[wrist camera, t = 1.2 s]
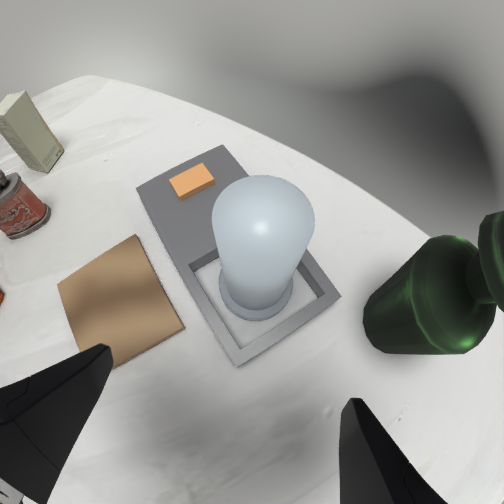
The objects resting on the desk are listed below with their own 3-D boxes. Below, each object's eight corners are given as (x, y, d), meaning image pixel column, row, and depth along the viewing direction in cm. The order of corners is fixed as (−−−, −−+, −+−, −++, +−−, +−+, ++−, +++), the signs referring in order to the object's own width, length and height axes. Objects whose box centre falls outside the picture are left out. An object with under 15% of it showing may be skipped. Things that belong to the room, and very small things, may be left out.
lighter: (52, 202, 27) (9, 152, 18) (50, 225, 26) (1, 176, 17) (10, 222, 26) (-33, 182, 17) (8, 244, 25) (-41, 206, 16)
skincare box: (65, 150, 30) (28, 88, 19) (47, 175, 29) (3, 115, 18) (43, 146, 31) (8, 92, 20) (27, 168, 30) (-13, 116, 18)
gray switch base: (334, 301, 23) (344, 293, 21) (237, 367, 21) (235, 367, 19) (223, 156, 29) (222, 139, 27) (141, 199, 27) (133, 183, 25)
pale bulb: (303, 296, 24) (351, 234, 13) (244, 334, 22) (243, 305, 11) (265, 242, 26) (278, 150, 14) (207, 275, 24) (177, 199, 13)
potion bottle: (384, 261, 25) (508, 136, 8) (437, 313, 23) (580, 240, 6) (336, 324, 23) (495, 230, 6) (396, 380, 21) (572, 362, 4)
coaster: (185, 328, 22) (183, 327, 22) (95, 378, 20) (91, 378, 19) (138, 237, 25) (135, 233, 25) (61, 286, 23) (57, 284, 22)
